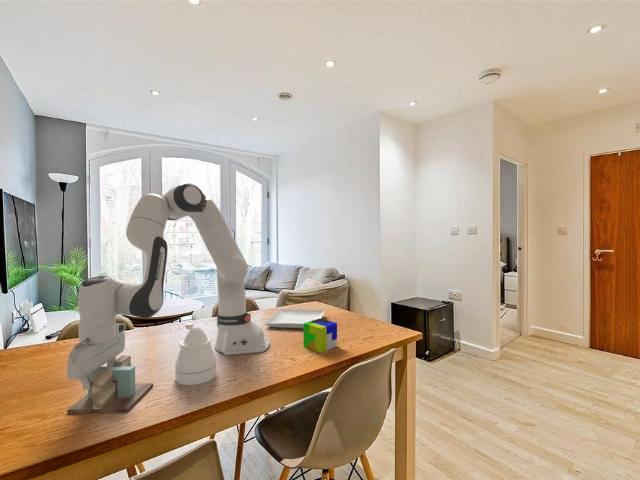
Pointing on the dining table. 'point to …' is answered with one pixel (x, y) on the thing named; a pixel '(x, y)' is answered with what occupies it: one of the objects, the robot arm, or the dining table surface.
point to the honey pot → (195, 358)
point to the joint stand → (109, 393)
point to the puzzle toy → (320, 335)
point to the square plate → (293, 318)
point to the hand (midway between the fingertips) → (99, 380)
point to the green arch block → (119, 380)
